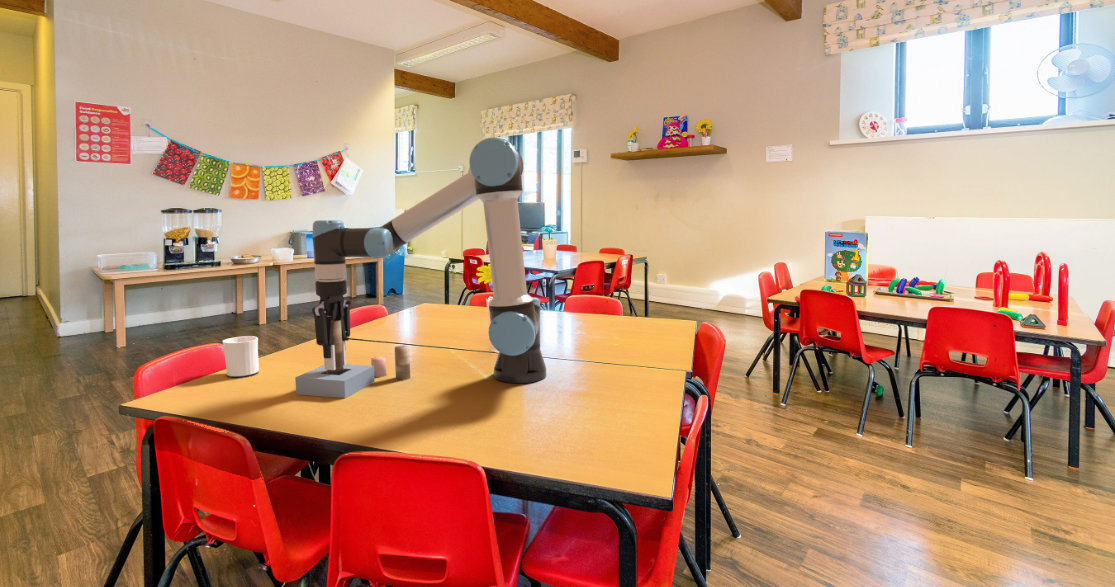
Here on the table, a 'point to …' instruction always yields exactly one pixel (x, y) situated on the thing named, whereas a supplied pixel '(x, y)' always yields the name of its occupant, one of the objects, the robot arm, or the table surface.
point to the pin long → (337, 349)
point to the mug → (241, 356)
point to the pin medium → (402, 362)
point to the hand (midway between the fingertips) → (335, 366)
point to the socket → (335, 381)
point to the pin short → (379, 366)
